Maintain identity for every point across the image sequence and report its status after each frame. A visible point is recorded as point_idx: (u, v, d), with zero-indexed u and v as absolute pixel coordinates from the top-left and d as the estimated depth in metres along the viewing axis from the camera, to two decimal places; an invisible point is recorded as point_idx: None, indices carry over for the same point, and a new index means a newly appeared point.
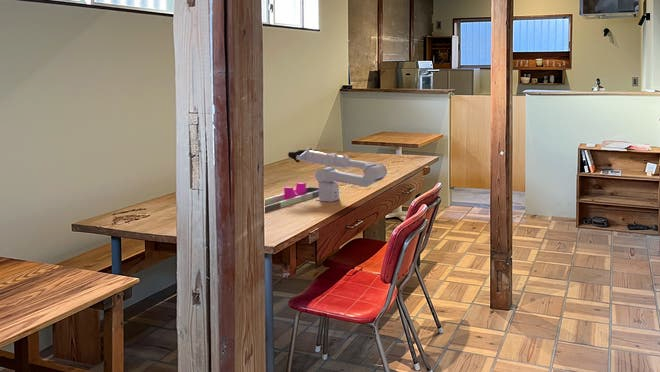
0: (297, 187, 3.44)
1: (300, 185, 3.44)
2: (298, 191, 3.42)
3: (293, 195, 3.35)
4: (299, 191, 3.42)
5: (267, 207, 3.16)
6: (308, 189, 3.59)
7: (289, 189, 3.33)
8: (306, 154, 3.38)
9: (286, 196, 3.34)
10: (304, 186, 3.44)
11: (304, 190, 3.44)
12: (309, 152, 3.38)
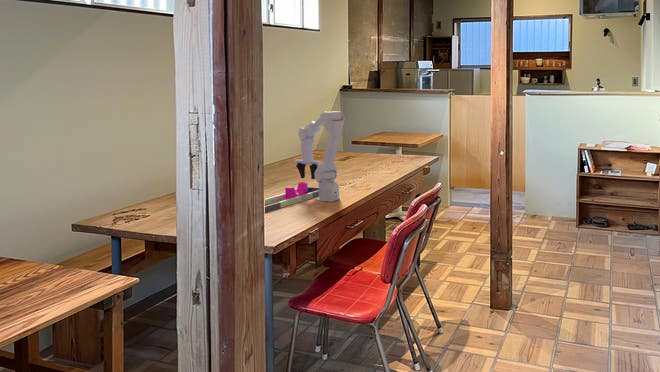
0: (298, 187, 3.44)
1: (301, 185, 3.44)
2: (299, 191, 3.43)
3: (294, 195, 3.35)
4: (300, 191, 3.43)
5: (267, 207, 3.16)
6: (308, 189, 3.59)
7: (290, 189, 3.33)
8: None
9: (287, 196, 3.34)
10: (305, 186, 3.44)
11: (305, 190, 3.45)
12: None
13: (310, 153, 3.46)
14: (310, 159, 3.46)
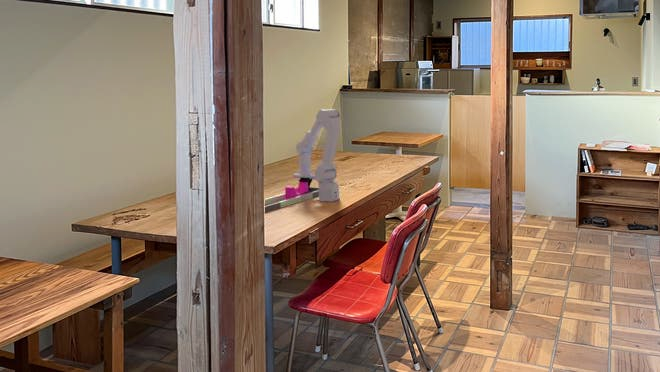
0: (299, 186, 3.44)
1: (302, 184, 3.44)
2: (300, 190, 3.42)
3: (294, 194, 3.35)
4: (301, 190, 3.42)
5: (267, 207, 3.16)
6: None
7: (290, 188, 3.33)
8: None
9: (287, 195, 3.34)
10: (306, 186, 3.44)
11: (306, 190, 3.44)
12: None
13: (308, 167, 3.45)
14: (308, 173, 3.46)
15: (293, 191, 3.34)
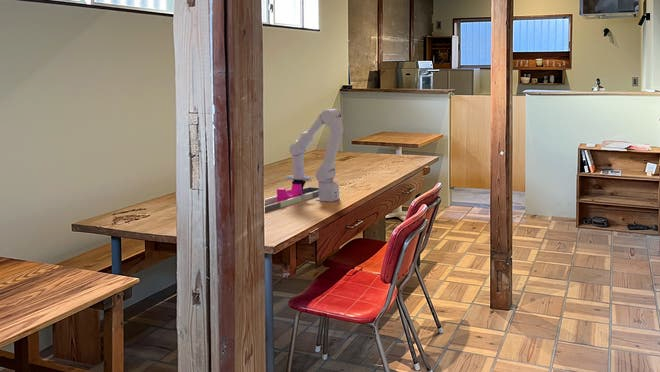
0: (292, 188, 3.39)
1: (295, 186, 3.39)
2: (293, 192, 3.38)
3: (286, 196, 3.30)
4: (294, 192, 3.38)
5: (267, 207, 3.16)
6: (308, 189, 3.59)
7: (281, 190, 3.28)
8: None
9: (279, 197, 3.30)
10: (299, 187, 3.39)
11: (299, 192, 3.39)
12: None
13: (301, 169, 3.41)
14: (301, 175, 3.41)
15: (285, 193, 3.29)
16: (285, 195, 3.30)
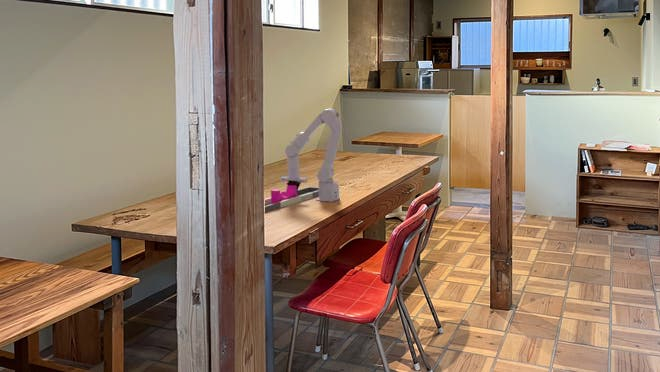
0: (287, 190, 3.36)
1: (290, 188, 3.36)
2: (288, 194, 3.34)
3: (280, 198, 3.27)
4: (288, 194, 3.34)
5: (267, 207, 3.16)
6: (308, 189, 3.59)
7: (275, 192, 3.25)
8: None
9: (273, 199, 3.27)
10: (294, 189, 3.36)
11: (294, 193, 3.36)
12: None
13: (296, 170, 3.37)
14: (296, 176, 3.38)
15: (279, 194, 3.26)
16: (279, 196, 3.27)
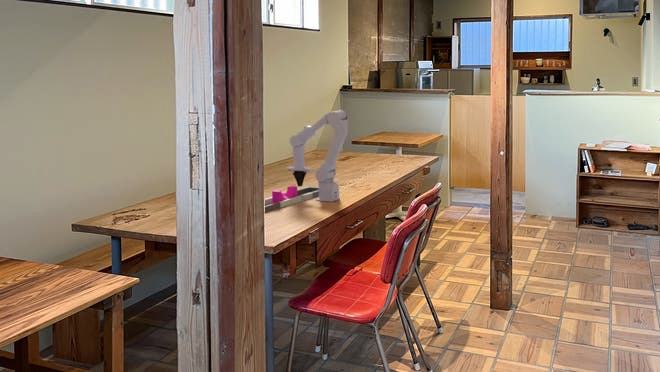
0: (288, 190, 3.36)
1: (290, 188, 3.35)
2: (288, 195, 3.34)
3: (281, 199, 3.26)
4: (289, 195, 3.34)
5: (267, 207, 3.16)
6: (308, 189, 3.59)
7: (277, 193, 3.25)
8: None
9: (274, 200, 3.26)
10: (295, 190, 3.35)
11: (295, 194, 3.36)
12: None
13: (302, 160, 3.41)
14: (302, 166, 3.41)
15: (280, 195, 3.25)
16: (280, 197, 3.26)
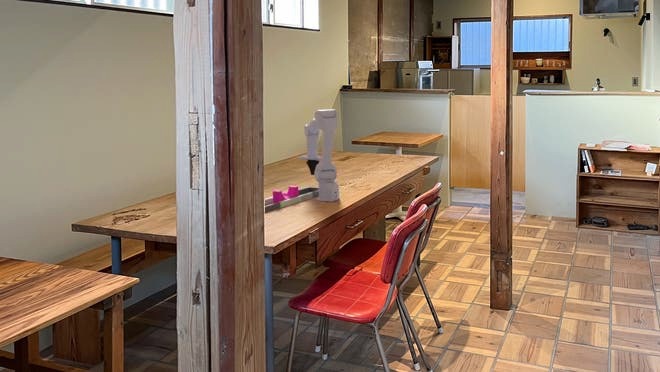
0: (289, 190, 3.36)
1: (292, 188, 3.35)
2: (289, 195, 3.34)
3: (282, 199, 3.27)
4: (290, 195, 3.34)
5: (267, 207, 3.16)
6: (308, 189, 3.59)
7: (277, 192, 3.25)
8: None
9: (274, 199, 3.27)
10: (296, 190, 3.35)
11: (296, 194, 3.36)
12: None
13: (315, 149, 3.51)
14: (315, 155, 3.52)
15: (280, 195, 3.26)
16: (281, 197, 3.26)
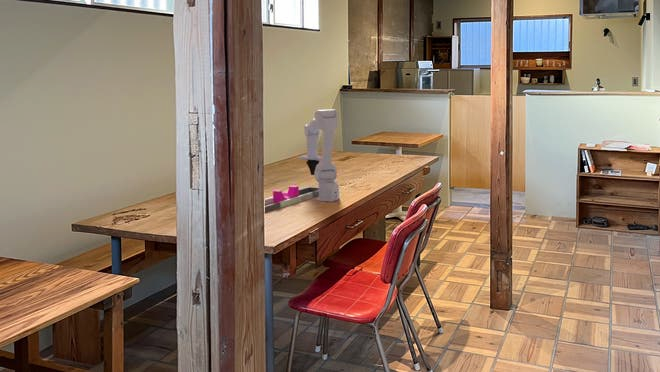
0: (289, 190, 3.36)
1: (292, 188, 3.35)
2: (290, 194, 3.34)
3: (282, 198, 3.27)
4: (291, 194, 3.34)
5: (267, 207, 3.16)
6: (308, 189, 3.59)
7: (277, 192, 3.25)
8: None
9: (275, 199, 3.27)
10: (296, 189, 3.36)
11: (296, 193, 3.36)
12: None
13: (315, 149, 3.51)
14: (315, 155, 3.52)
15: (281, 195, 3.26)
16: (281, 197, 3.26)
